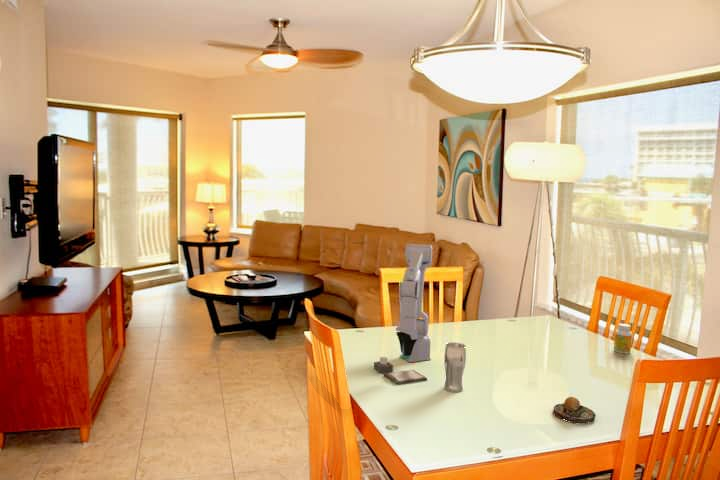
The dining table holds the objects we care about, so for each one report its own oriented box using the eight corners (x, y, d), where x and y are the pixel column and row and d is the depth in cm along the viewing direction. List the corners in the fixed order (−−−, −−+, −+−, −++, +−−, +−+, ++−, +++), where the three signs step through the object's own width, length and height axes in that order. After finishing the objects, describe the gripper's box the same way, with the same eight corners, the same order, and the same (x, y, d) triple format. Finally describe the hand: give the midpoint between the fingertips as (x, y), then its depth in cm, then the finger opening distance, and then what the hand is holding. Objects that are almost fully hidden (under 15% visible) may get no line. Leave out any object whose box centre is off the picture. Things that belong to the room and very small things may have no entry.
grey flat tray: (413, 371, 209) (413, 368, 209) (426, 380, 201) (427, 376, 201) (383, 376, 203) (383, 372, 203) (396, 384, 195) (396, 380, 195)
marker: (407, 356, 203) (408, 339, 203) (411, 358, 201) (412, 341, 200) (400, 357, 202) (401, 340, 201) (404, 359, 200) (405, 342, 199)
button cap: (385, 365, 211) (385, 356, 210) (388, 367, 208) (389, 358, 208) (378, 365, 209) (378, 357, 209) (381, 368, 207) (382, 359, 207)
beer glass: (451, 394, 189) (453, 349, 187) (438, 386, 195) (440, 343, 193) (468, 391, 192) (470, 347, 190) (455, 384, 198) (457, 341, 196)
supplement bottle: (614, 352, 241) (616, 325, 240) (613, 348, 247) (616, 322, 246) (630, 354, 239) (633, 327, 238) (629, 350, 245) (632, 324, 243)
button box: (386, 367, 212) (386, 360, 212) (392, 371, 208) (393, 364, 208) (373, 369, 210) (374, 362, 210) (380, 373, 206) (380, 366, 205)
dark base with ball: (603, 423, 171) (605, 399, 170) (566, 426, 169) (568, 401, 168) (579, 407, 183) (581, 384, 182) (545, 409, 180) (547, 386, 179)
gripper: (390, 310, 206) (388, 348, 207) (404, 321, 192) (402, 361, 193) (408, 310, 208) (407, 347, 209) (424, 320, 194) (422, 360, 195)
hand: (406, 354), depth 201 cm, fingers closed on marker, 3 cm apart
